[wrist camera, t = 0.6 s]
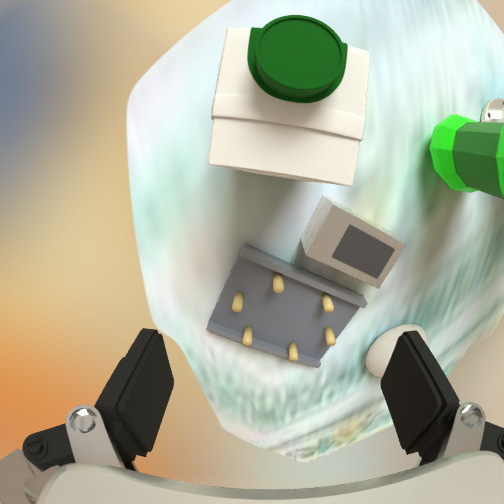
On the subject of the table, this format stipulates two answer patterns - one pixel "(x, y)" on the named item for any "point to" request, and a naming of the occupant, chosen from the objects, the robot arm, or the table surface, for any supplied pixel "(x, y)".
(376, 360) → the flower in vase
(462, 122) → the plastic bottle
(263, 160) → the milk carton
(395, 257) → the block
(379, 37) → the table surface
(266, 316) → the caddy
